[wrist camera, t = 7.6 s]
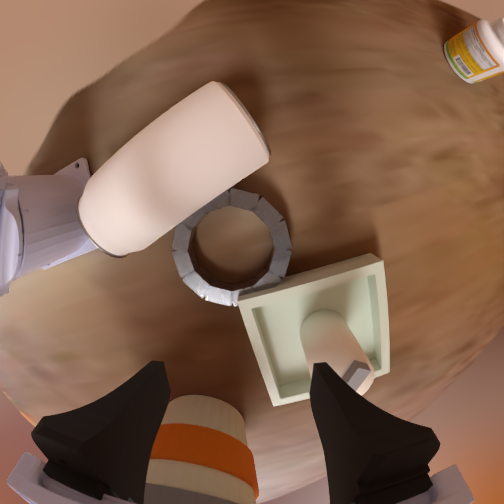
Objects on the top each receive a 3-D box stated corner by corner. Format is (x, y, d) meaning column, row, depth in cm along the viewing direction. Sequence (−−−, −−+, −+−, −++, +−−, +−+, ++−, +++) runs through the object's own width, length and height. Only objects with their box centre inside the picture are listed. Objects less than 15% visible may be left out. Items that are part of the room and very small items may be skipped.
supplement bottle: (471, 52, 15) (523, 28, 6) (480, 91, 16) (540, 74, 7) (437, 34, 15) (489, -1, 6) (447, 74, 16) (509, 45, 7)
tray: (272, 388, 24) (273, 406, 21) (239, 288, 21) (237, 301, 19) (379, 357, 23) (389, 372, 21) (370, 252, 21) (383, 260, 18)
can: (213, 81, 16) (91, 179, 18) (222, 70, 11) (56, 210, 13) (260, 149, 20) (140, 235, 22) (286, 169, 14) (125, 281, 16)
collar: (198, 307, 22) (194, 315, 20) (165, 208, 20) (158, 210, 18) (298, 281, 21) (302, 288, 20) (271, 176, 19) (272, 175, 18)
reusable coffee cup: (128, 396, 25) (76, 498, 10) (222, 366, 23) (196, 514, 9) (192, 456, 27) (173, 548, 13) (280, 436, 26) (288, 547, 11)
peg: (330, 354, 22) (355, 416, 15) (291, 342, 22) (304, 407, 14) (353, 317, 21) (390, 372, 14) (313, 302, 21) (339, 359, 13)
